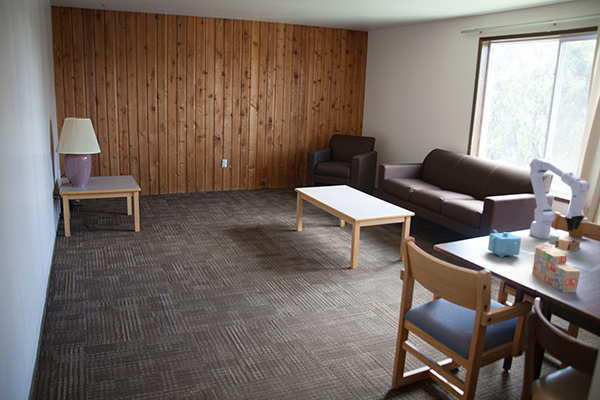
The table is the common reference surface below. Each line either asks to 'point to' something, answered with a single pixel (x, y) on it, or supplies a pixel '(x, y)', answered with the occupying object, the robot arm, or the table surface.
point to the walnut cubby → (572, 246)
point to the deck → (555, 248)
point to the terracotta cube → (564, 243)
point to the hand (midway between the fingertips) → (572, 229)
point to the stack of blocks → (555, 269)
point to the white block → (553, 238)
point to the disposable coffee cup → (579, 229)
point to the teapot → (504, 244)
